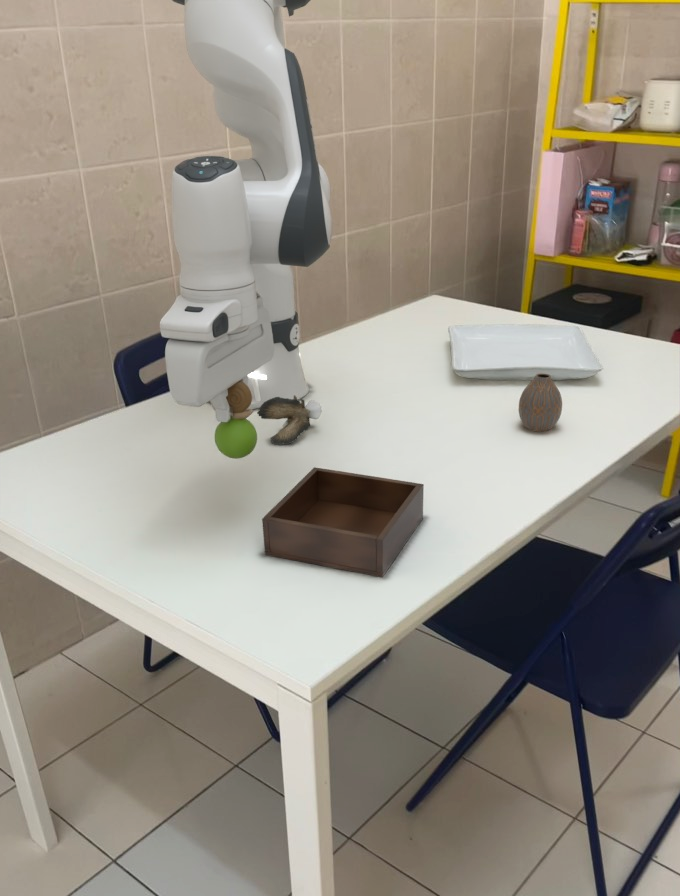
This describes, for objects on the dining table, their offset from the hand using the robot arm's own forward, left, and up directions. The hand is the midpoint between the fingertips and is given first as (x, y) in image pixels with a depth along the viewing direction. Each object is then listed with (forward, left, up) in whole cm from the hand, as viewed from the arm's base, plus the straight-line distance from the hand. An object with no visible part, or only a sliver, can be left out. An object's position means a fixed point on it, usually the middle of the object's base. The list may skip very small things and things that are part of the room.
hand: (231, 415), depth 111 cm
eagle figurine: (-5, +27, -14) cm, 31 cm away
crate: (+16, -1, -14) cm, 21 cm away
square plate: (+22, +74, -14) cm, 79 cm away
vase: (+32, +43, -14) cm, 55 cm away
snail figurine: (0, 0, -6) cm, 6 cm away
